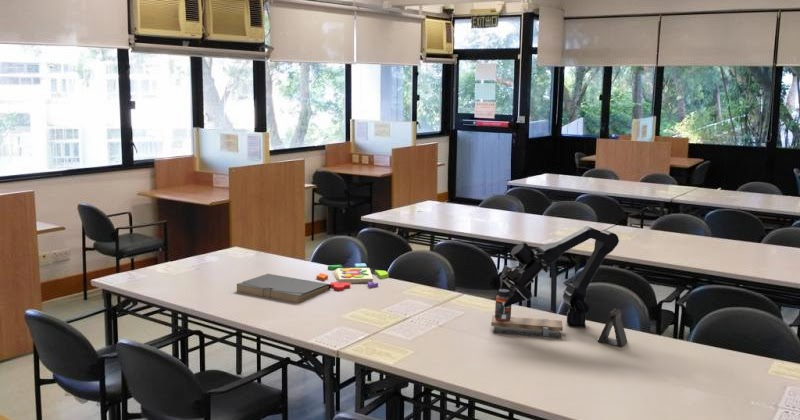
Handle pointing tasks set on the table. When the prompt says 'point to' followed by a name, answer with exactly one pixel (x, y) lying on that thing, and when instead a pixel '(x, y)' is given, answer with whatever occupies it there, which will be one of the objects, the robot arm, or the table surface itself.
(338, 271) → the pattern blocks set
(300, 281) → the file folder
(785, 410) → the table surface
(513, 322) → the balance beam
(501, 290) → the supplement bottle
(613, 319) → the grey a-frame stand
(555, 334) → the beam stand
